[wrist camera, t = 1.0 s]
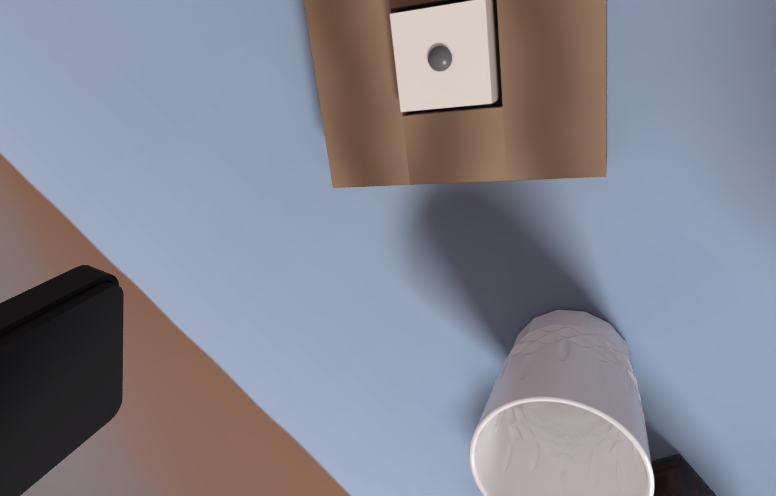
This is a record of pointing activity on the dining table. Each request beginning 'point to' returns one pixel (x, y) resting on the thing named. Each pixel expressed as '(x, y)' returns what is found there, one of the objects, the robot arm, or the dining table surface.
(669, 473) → the manual coffee grinder
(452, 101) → the button one
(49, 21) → the dining table surface
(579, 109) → the button board
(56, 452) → the robot arm
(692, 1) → the dining table surface
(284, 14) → the dining table surface
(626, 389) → the white cup
